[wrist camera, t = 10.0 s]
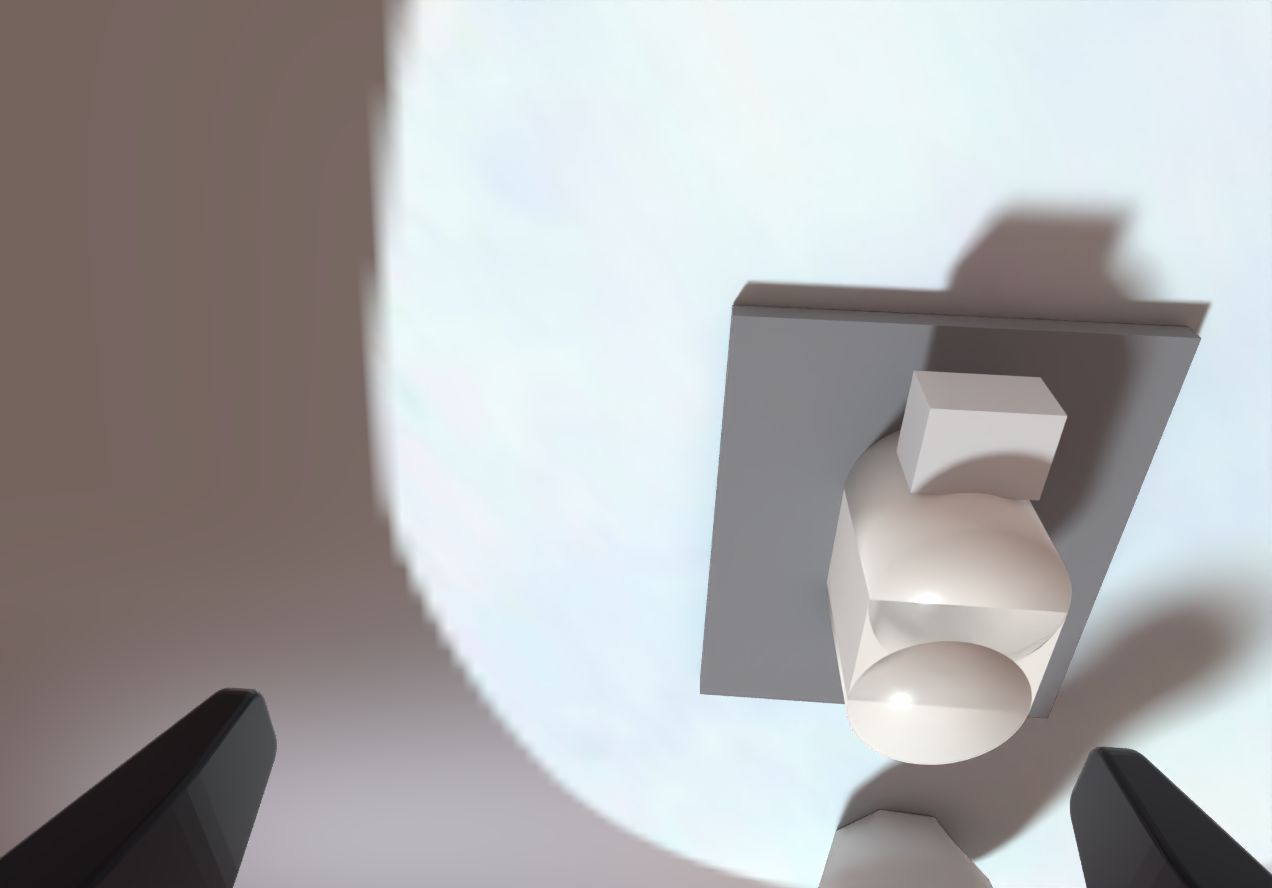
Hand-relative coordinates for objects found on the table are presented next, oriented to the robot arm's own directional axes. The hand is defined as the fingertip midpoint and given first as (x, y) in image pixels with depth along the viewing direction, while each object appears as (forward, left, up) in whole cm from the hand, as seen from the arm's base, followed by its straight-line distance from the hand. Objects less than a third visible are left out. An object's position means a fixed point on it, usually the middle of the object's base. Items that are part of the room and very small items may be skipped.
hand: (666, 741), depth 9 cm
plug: (-6, +6, -11) cm, 14 cm away
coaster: (-6, +6, -12) cm, 15 cm away
